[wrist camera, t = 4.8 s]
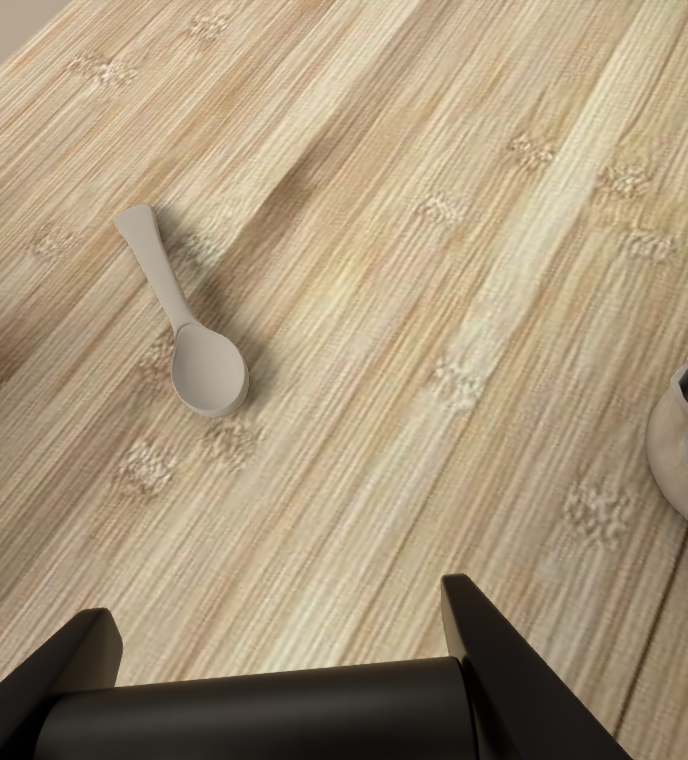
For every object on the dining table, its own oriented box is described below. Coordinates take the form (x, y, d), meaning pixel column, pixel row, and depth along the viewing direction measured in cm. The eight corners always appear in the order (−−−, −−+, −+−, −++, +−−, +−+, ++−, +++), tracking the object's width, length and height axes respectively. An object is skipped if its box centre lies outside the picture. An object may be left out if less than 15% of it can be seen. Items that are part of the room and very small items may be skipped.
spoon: (203, 439, 20) (183, 423, 18) (115, 240, 24) (93, 211, 23) (269, 404, 20) (257, 384, 18) (170, 215, 25) (152, 184, 23)
